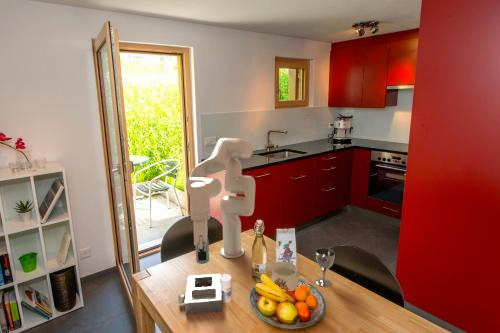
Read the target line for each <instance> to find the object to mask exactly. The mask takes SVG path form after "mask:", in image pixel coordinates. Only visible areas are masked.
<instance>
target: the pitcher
mask: <svg viewBox="0 0 500 333" xmlns="http://www.w3.org/2000/svg"><path fill="white" fill-rule="evenodd" d="M265 264H266V266H267V268H269V269H270V271H271V278H270V281H271V280H272V281H273V282H274V283H275V284H276V285H278V286H279V287H281V288H282V289H284V290H286V291H294V290H295V289H296V288H297V289H298V286H299V284H298V283H299V281H303V282H304V285H305V287H306V286H307V287H308V288H309V280H307V278H306V277H304V276H303V275H302V276H297V272H298V267H297V265H295V264H293V263H291V262H288V261H272V262H271V261H268V262H266V263H265Z"/></svg>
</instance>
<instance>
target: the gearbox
mask: <svg viewBox="0 0 500 333" xmlns="http://www.w3.org/2000/svg"><path fill="white" fill-rule="evenodd" d="M220 278H221V273H213V274H200V275H188V277H187V284H186V292H185V294H179V295H178V304H184V310H185V315H193V314H202V313H215V312H222V311H223V309H222V308H223V306H222V286H221V285H222V283H220Z"/></svg>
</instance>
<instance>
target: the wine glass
mask: <svg viewBox="0 0 500 333" xmlns="http://www.w3.org/2000/svg"><path fill="white" fill-rule="evenodd" d="M335 256H336V255H335V251H334V250H333V249H331V248H328V247H319V248H317V249H315V260H316V264H317V265H318V267H319V268H320V269H321V270H322V277H318V278H316V279H315V284H316V285H317V286H319V287H322V288H328V287H329V288H330V287H331V286H332V284H333V282H332V281H331V279H329V278H326V272H327V271H328V269H330V268H332V266H333V265H334V261H335Z"/></svg>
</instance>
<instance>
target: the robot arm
mask: <svg viewBox="0 0 500 333" xmlns="http://www.w3.org/2000/svg"><path fill="white" fill-rule="evenodd" d="M253 151H254V147H253V144H252V142H251V141H250V140H247V139H245V138H244V139H243V138H235V137H230V138H229V137H223V138H219V139H218V140H217V141H216V143H215V145H214V147H213V149H212V151H211V153H210V155H209V158H207V159H205V160H204V161H201V162H200V163H199V164H197V165H195V167H194V168H193V169H192V170H191V172H190V174H189V176H188V178H187V180H186V184H185V189H186V192H187V193H188V194H189V205H190V206H189V208H190V212H189V213H190V220H192V221H193V245H194V246H196V245H197V244H198V261H204V260H206V251H205V245H206V244H207V238H208V220H210V219H211V204H210V202H211V201H210V199H212V198H214V197H217V196H218V195H219V194H220V193H221V191H222V189H223V186H222V185H223V184H222V182H221V181H220V179H218V178H215V177H214V178H213V177H207V176H210V175H213V174H214V175H215V174H216V173H220V172H222V171H224V170H225V171H224V190H225V192H227V193H229V194H237V195H225V196H223V197H222V198H221V199H220V203H219V208H220V212H221V219H222V240H223V242H222V244H223V245H222V246H223V247H222V248H221V250H220V255H221V256H222V257H224V258H227V259H237V258H240V257H242V256H243V255H244V254H245V249H244V248H243V246H242V221H241V218H240V216H242V217H243V216H244V217H250V216H252V215H253V213H254V211H255V200H256V198H255V197H256V180H255V178H254V177H253V176H251V175H243V174H242V172H243V169H242V168H243V165H242V162H241V161H240V160H239V159H249V158H251V157H252V155H253ZM238 195H244V196H238ZM203 242H204V243H203ZM203 245H204V247H203Z"/></svg>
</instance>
